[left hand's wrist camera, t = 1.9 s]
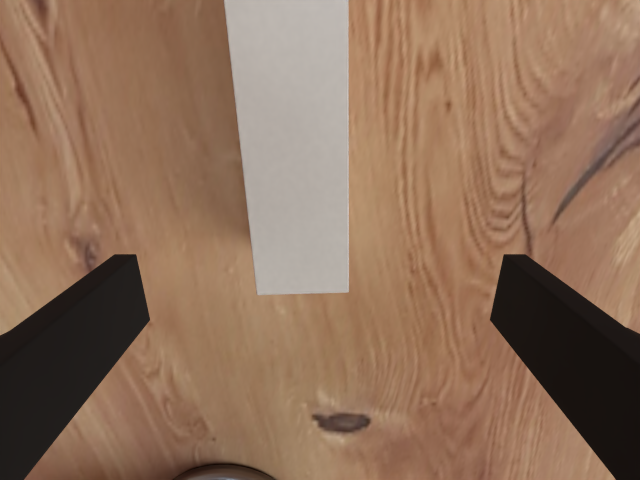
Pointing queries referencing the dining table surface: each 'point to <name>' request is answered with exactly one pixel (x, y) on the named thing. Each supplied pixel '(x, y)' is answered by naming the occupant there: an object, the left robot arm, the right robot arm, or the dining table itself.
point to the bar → (293, 139)
